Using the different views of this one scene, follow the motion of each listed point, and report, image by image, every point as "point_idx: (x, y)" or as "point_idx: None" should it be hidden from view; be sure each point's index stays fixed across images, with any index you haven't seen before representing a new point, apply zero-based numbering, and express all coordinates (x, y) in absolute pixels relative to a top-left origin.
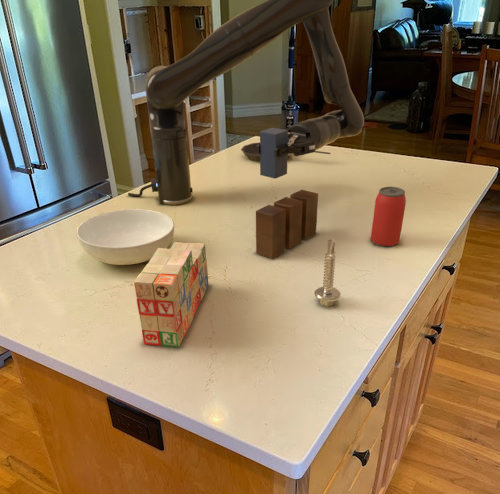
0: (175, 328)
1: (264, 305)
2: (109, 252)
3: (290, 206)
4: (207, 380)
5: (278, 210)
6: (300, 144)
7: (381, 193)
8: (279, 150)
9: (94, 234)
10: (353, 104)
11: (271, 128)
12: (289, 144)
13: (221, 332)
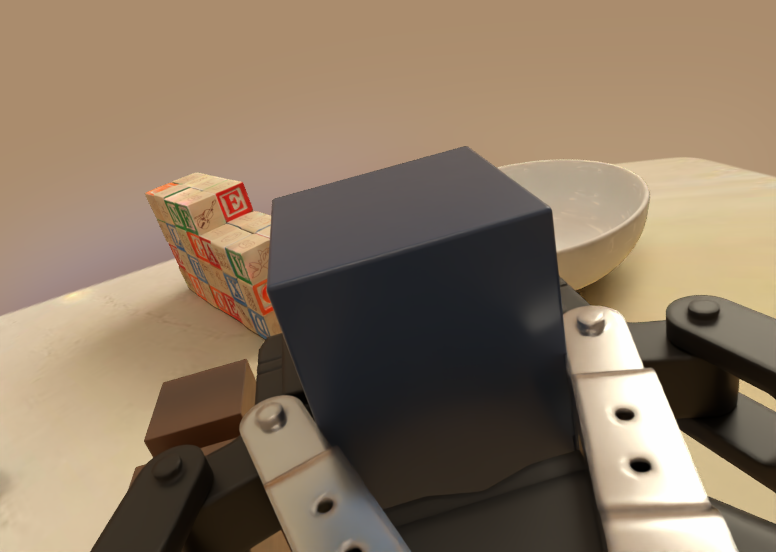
0: (177, 259)
1: (122, 398)
2: None
3: (137, 469)
4: (114, 299)
5: (166, 414)
6: (128, 508)
7: None
8: (276, 339)
9: (597, 201)
10: None
11: (500, 197)
12: (253, 412)
13: (153, 328)
